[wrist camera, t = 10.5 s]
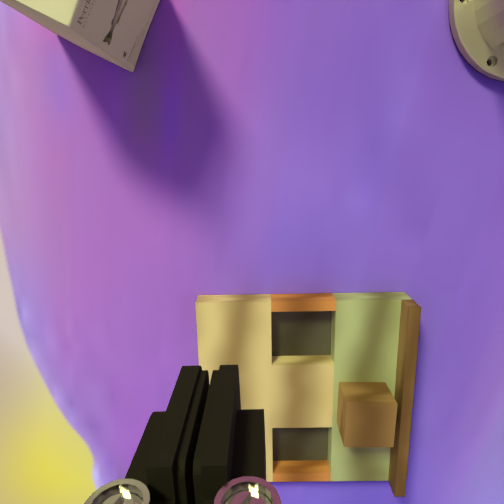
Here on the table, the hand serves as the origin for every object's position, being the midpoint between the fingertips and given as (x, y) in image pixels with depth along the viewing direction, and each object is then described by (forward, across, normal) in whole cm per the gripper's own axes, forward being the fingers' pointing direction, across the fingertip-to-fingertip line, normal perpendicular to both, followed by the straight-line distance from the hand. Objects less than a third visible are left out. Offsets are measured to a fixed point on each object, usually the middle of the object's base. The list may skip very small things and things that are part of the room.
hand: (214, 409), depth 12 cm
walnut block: (+24, -10, +17) cm, 32 cm away
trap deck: (+26, -5, +16) cm, 32 cm away
